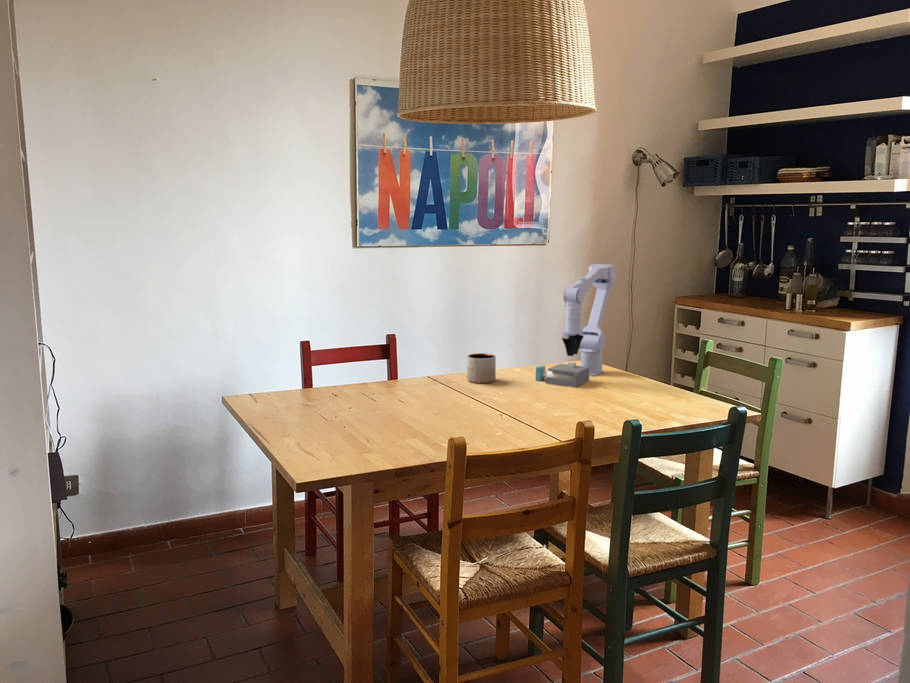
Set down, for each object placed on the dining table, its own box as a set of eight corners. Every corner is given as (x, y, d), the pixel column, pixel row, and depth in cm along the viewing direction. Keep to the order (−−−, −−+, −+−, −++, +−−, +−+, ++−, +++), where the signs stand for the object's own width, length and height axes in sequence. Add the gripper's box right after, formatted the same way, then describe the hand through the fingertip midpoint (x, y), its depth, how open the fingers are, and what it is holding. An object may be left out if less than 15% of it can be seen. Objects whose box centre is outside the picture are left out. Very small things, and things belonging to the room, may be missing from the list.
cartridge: (540, 378, 304) (540, 365, 304) (577, 382, 296) (578, 369, 295) (535, 380, 301) (535, 367, 300) (573, 385, 293) (573, 371, 292)
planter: (498, 383, 297) (499, 358, 295) (470, 384, 295) (470, 359, 293) (491, 377, 307) (491, 352, 306) (464, 378, 305) (464, 353, 303)
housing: (559, 377, 307) (560, 363, 306) (588, 381, 300) (589, 367, 299) (545, 383, 296) (546, 369, 295) (575, 387, 290) (576, 373, 289)
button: (570, 368, 302) (570, 361, 302) (576, 368, 301) (576, 362, 301) (567, 369, 300) (567, 362, 300) (573, 370, 299) (573, 363, 299)
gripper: (571, 316, 305) (570, 350, 308) (555, 320, 293) (554, 356, 296) (588, 317, 302) (587, 352, 304) (573, 322, 290) (572, 358, 292)
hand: (572, 354), depth 300 cm, fingers open, 3 cm apart
